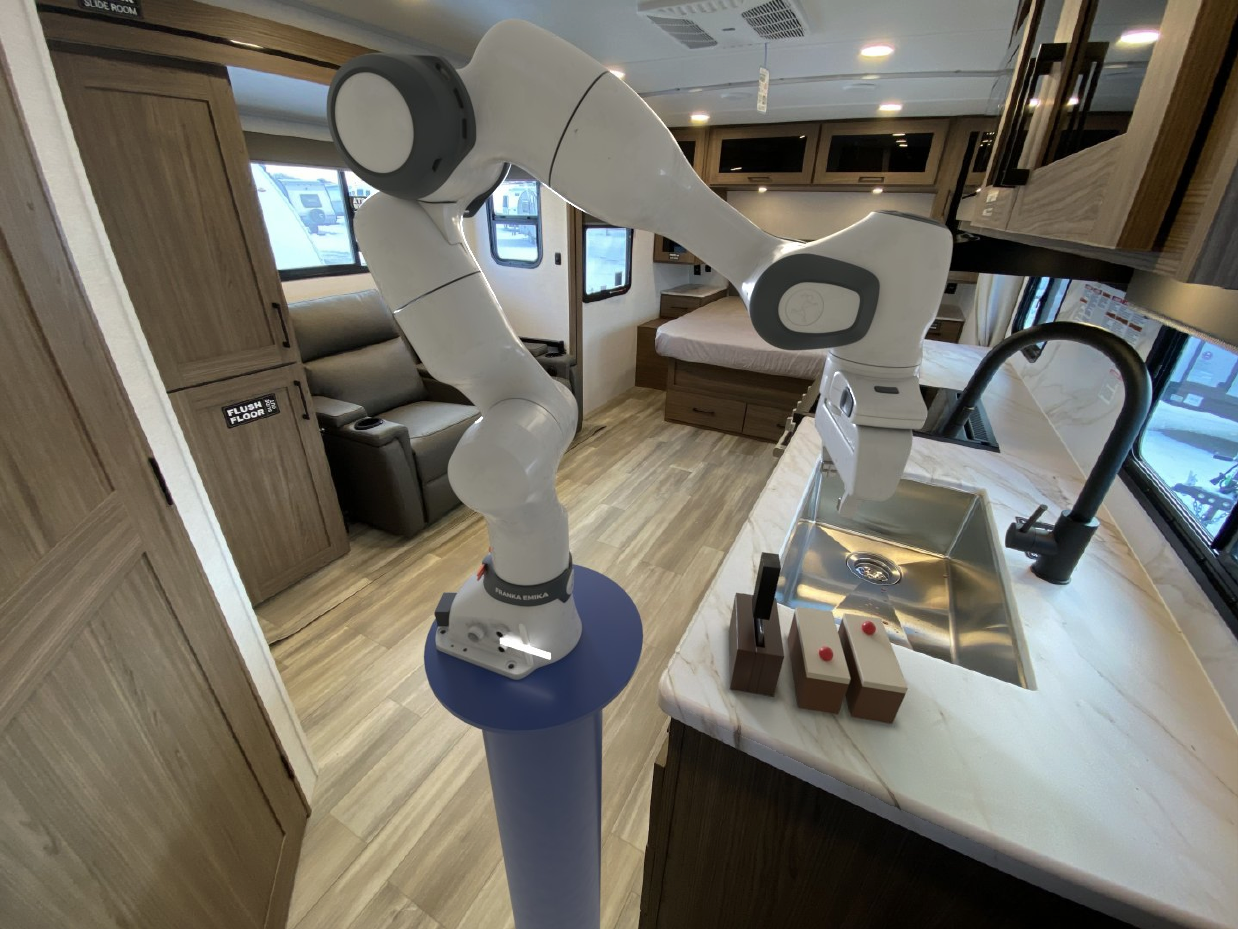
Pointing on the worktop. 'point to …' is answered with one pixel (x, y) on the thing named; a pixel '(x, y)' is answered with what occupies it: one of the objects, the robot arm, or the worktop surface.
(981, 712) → the worktop surface
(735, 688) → the knife block
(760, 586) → the knife
